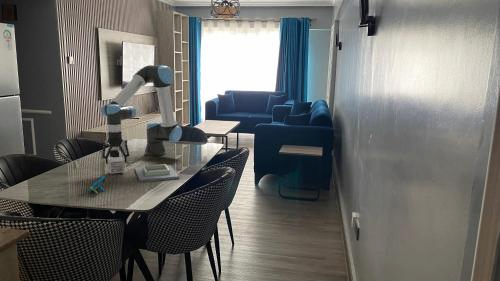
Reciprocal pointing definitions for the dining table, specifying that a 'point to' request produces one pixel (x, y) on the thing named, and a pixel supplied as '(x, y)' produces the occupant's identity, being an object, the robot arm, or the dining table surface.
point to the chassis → (156, 173)
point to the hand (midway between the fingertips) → (116, 168)
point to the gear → (97, 185)
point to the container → (116, 162)
